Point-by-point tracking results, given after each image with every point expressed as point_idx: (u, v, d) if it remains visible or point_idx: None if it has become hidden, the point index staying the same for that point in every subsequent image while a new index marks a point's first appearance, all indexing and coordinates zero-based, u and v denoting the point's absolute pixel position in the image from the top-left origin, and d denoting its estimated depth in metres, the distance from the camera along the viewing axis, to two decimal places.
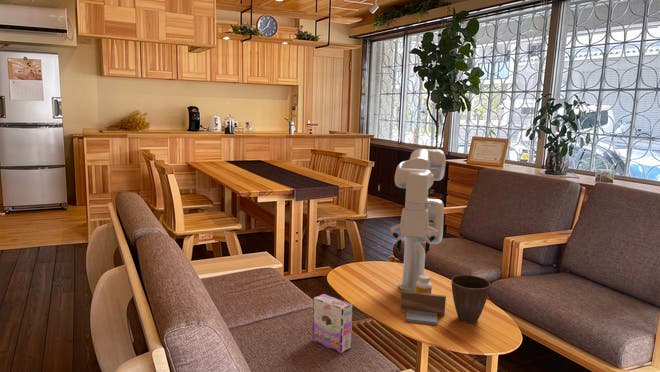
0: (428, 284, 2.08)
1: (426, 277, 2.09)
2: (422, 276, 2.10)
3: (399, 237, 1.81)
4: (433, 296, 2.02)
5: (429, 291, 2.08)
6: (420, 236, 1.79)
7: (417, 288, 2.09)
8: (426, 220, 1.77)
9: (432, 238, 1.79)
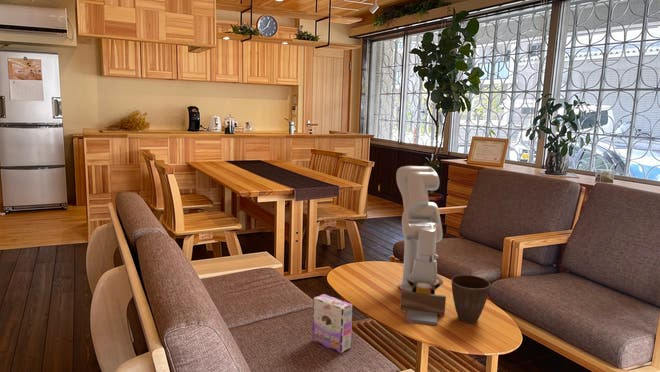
0: (428, 284, 2.08)
1: None
2: None
3: (414, 285, 2.10)
4: (433, 296, 2.02)
5: (429, 291, 2.08)
6: (430, 283, 2.08)
7: (417, 288, 2.09)
8: (435, 269, 2.06)
9: (437, 286, 2.08)
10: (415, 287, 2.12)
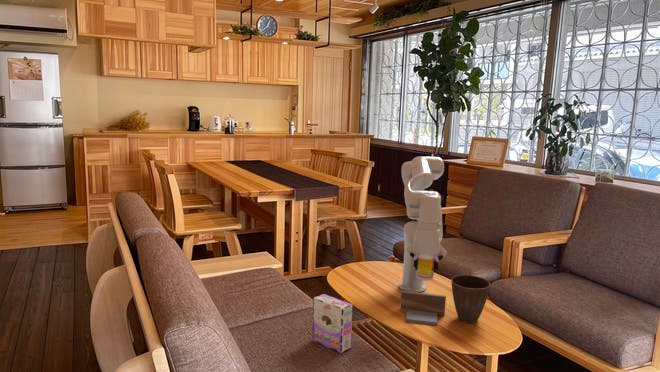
0: (431, 255, 1.93)
1: None
2: None
3: (416, 257, 1.95)
4: (433, 296, 2.02)
5: (432, 262, 1.93)
6: (432, 253, 1.93)
7: (419, 259, 1.94)
8: (438, 239, 1.92)
9: (440, 257, 1.94)
10: None
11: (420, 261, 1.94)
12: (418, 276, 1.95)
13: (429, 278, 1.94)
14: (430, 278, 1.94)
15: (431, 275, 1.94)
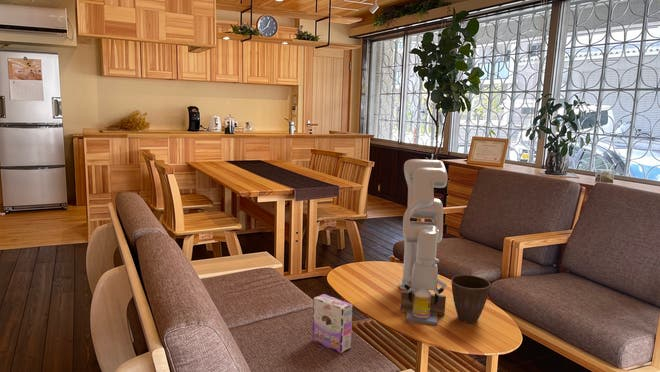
0: (427, 293, 1.95)
1: None
2: None
3: (410, 289, 1.96)
4: (433, 296, 2.02)
5: (428, 301, 1.95)
6: (430, 289, 1.94)
7: (415, 297, 1.96)
8: (435, 274, 1.93)
9: (441, 290, 1.94)
10: (411, 291, 1.98)
11: (416, 299, 1.95)
12: (414, 314, 1.97)
13: (425, 316, 1.96)
14: (426, 316, 1.96)
15: (427, 313, 1.96)
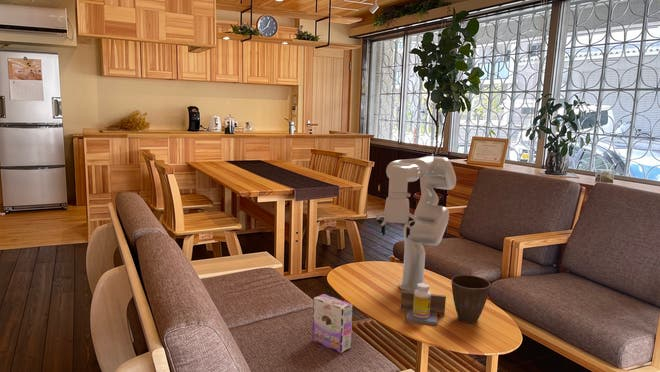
0: (427, 293, 1.95)
1: (425, 286, 1.96)
2: (421, 285, 1.96)
3: (383, 223, 2.05)
4: (433, 296, 2.02)
5: (428, 301, 1.95)
6: (401, 222, 2.03)
7: (415, 297, 1.96)
8: (407, 207, 2.01)
9: (412, 223, 2.03)
10: (384, 225, 2.07)
11: (416, 299, 1.95)
12: (414, 314, 1.97)
13: (425, 316, 1.96)
14: (426, 316, 1.96)
15: (427, 313, 1.96)
